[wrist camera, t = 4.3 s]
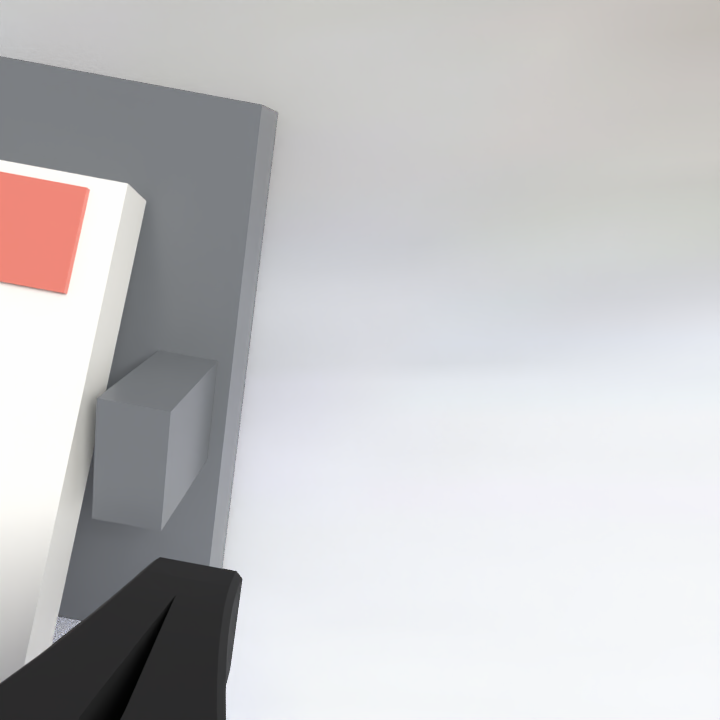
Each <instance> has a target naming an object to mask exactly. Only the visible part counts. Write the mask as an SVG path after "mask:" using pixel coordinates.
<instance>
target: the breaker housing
mask: <svg viewBox="0 0 720 720" xmlns="http://www.w3.org/2000/svg"><path fill="white" fill-rule="evenodd" d="M277 117H278V112H276V111H274V110H272V109H270V108H268V107H266V106H264V105H261V104H255V103H250V102H245V101H239V100H234V99H228V98H223V97H217V96H212V95H207V94H201V93H196V92H190V91H185V90H180V89H174V88H169V87H163V86H158V85H153V84H147V83H142V82H136V81H131V80H126V79H120V78H115V77H109V76H104V75H99V74H93V73H88V72H82V71H77V70H72V69H66V68H61V67H55V66H50V65H44V64H39V63H34V62H28V61H23V60H17V59H12V58H7V57H1V56H0V160H4V161H9V162H14V163H20V164H25V165H31V166H36V167H41V168H47V169H52V170H58V171H63V172H68V173H74V174H79V175H85V176H90V177H95V178H101V179H106V180H112V181H117V182H122V183H128V184H129V185H130V186H131V187H132V188H133V189H134V190H135V191H136V192H137V193H138V194H139V195H140V196H142V197H143V198H144V199H145V200H146V206H145V210H144V215H143V220H142V224H141V229H140V234H139V238H138V243H137V248H136V252H135V257H134V262H133V267H132V271H131V276H130V281H129V285H128V290H127V295H126V299H125V304H124V309H123V313H122V318H121V323H120V328H119V332H118V337H117V342H116V346H115V351H114V356H113V360H112V365H111V370H110V374H109V379H108V384H107V389H106V391H105V392H104V393H103V394H101V395H100V396H99V397H97V402H96V428H95V445H94V450H93V454H92V459H91V464H90V468H89V473H88V478H87V482H86V487H85V492H84V496H83V501H82V506H81V511H80V515H79V520H78V525H77V529H76V534H75V539H74V543H73V548H72V553H71V557H70V562H69V567H68V572H67V576H66V581H65V586H64V590H63V595H62V600H61V604H60V609H59V614H58V616H59V617H65V618H70V619H75V620H81V621H83V620H84V619H85V618H87V617H88V616H89V615H90V614H92V613H93V612H94V611H95V610H96V609H98V608H99V607H100V606H101V605H102V604H104V603H105V602H106V601H107V600H108V599H110V598H111V597H112V596H113V595H114V594H116V593H117V592H118V591H119V590H120V589H121V588H123V587H124V586H125V585H126V584H127V583H128V582H130V581H131V580H132V579H133V578H134V577H135V576H136V575H138V574H139V573H140V572H141V571H142V570H143V569H145V568H146V567H147V566H148V565H149V564H150V563H152V562H153V561H154V560H156V559H158V558H159V557H163V558H168V559H173V560H179V561H184V562H190V563H195V564H200V565H206V566H211V567H216V568H222V566H223V558H224V550H225V542H226V534H227V526H228V517H229V509H230V501H231V493H232V485H233V477H234V468H235V460H236V452H237V444H238V436H239V428H240V419H241V411H242V403H243V395H244V387H245V379H246V370H247V362H248V354H249V346H250V338H251V330H252V321H253V313H254V305H255V297H256V289H257V281H258V272H259V264H260V256H261V248H262V240H263V232H264V223H265V215H266V207H267V199H268V191H269V182H270V174H271V166H272V158H273V150H274V142H275V133H276V125H277Z"/></svg>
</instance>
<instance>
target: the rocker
mask: <svg viewBox="0 0 720 720" xmlns="http://www.w3.org/2000/svg"><path fill="white" fill-rule="evenodd" d="M145 206H146V200H145V199H144V198H143V197H142V196H140V195H139V194H138V193H137V192H136V191H135V190H134V189H133V188H132V187H131V186H130V185H129V184H128V183H122V182H117V181H112V180H106V179H101V178H95V177H90V176H85V175H79V174H74V173H68V172H63V171H58V170H52V169H47V168H41V167H36V166H31V165H25V164H20V163H14V162H9V161H4V160H0V683H1V682H2V681H4V680H5V679H6V678H8V677H9V676H11V675H12V674H13V673H15V672H16V671H18V670H19V669H20V668H22V667H23V666H24V665H26V664H27V663H29V662H30V661H31V660H33V659H34V658H35V657H37V656H38V655H39V654H41V653H42V652H43V651H45V650H46V649H47V648H49V647H50V646H51V645H52V642H53V637H54V632H55V628H56V623H57V618H58V614H59V609H60V604H61V600H62V595H63V590H64V586H65V581H66V576H67V572H68V567H69V562H70V557H71V553H72V548H73V543H74V539H75V534H76V529H77V525H78V520H79V515H80V511H81V506H82V501H83V496H84V492H85V487H86V482H87V478H88V473H89V468H90V464H91V459H92V454H93V450H94V445H95V428H96V402H97V397H99V396H100V395H101V394H103V393H104V392H105V391H106V389H107V384H108V379H109V374H110V370H111V365H112V360H113V356H114V351H115V346H116V342H117V337H118V332H119V328H120V323H121V318H122V313H123V309H124V304H125V299H126V295H127V290H128V285H129V281H130V276H131V271H132V267H133V262H134V257H135V252H136V248H137V243H138V238H139V234H140V229H141V224H142V220H143V215H144V210H145Z"/></svg>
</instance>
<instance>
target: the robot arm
mask: <svg viewBox="0 0 720 720" xmlns="http://www.w3.org/2000/svg"><path fill="white" fill-rule="evenodd" d="M241 585H242V578H241V577H240V575H239V574H238V573H237V571H233V570H227V569H222V568H216V567H211V566H206V565H200V564H195V563H190V562H184V561H179V560H173V559H168V558H163V557H159V558H158V559H156V560H154V561H153V562H152V563H150V564H149V565H148V566H147V567H146V568H145V569H143V570H142V571H141V572H140V573H139V574H138V575H136V576H135V577H134V578H133V579H132V580H131V581H130V582H128V583H127V584H126V585H125V586H124V587H123V588H121V589H120V590H119V591H118V592H117V593H116V594H114V595H113V596H112V597H111V598H110V599H108V600H107V601H106V602H105V603H104V604H102V605H101V606H100V607H99V608H98V609H96V610H95V611H94V612H93V613H92V614H90V615H89V616H88V617H87V618H85V619H84V620H83V621H81V622H80V623H79V624H78V625H76V626H75V627H74V628H73V629H71V630H70V631H69V632H68V633H66V634H65V635H64V636H63V637H61V638H60V639H59V640H57V641H56V642H55V643H54V644H52V645H51V646H50V647H49V648H47V649H46V650H45V651H43V652H42V653H41V654H39V655H38V656H37V657H35V658H34V659H33V660H31V661H30V662H29V663H27V664H26V665H24V666H23V667H22V668H20V669H19V670H18V671H16V672H15V673H13V674H12V675H11V676H9V677H8V678H6V679H5V680H4V681H2V682H1V683H0V720H226V683H227V679H228V675H229V671H230V666H231V659H232V651H233V644H234V636H235V629H236V622H237V614H238V607H239V600H240V592H241Z"/></svg>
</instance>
